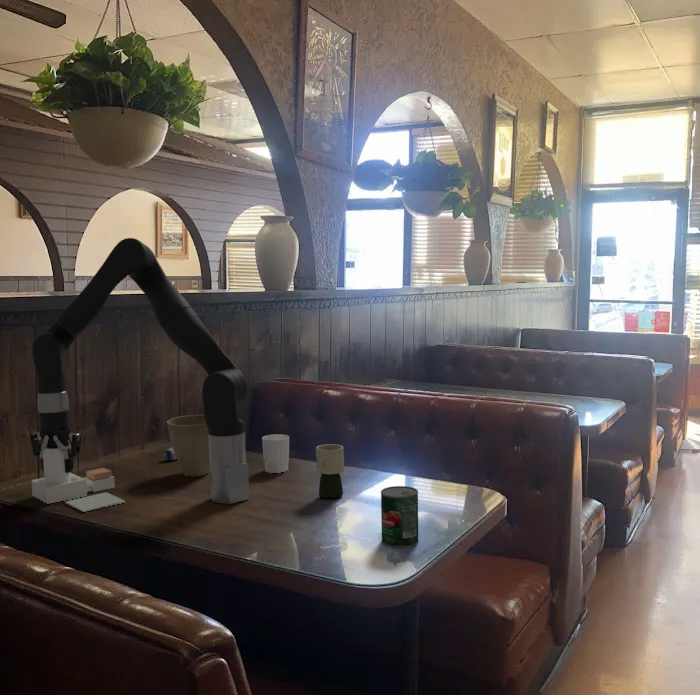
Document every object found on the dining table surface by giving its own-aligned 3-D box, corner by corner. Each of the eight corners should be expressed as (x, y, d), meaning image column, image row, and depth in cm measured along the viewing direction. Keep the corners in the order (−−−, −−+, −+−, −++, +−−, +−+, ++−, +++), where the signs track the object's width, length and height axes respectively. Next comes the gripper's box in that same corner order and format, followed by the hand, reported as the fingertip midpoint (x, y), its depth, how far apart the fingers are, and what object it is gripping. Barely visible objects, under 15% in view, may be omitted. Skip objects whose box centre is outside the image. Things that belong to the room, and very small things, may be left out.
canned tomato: (374, 544, 159) (373, 493, 158) (392, 532, 166) (391, 484, 165) (408, 550, 155) (407, 498, 154) (425, 538, 162) (424, 488, 160)
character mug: (329, 489, 200) (328, 441, 198) (353, 492, 196) (352, 443, 195) (308, 501, 190) (306, 450, 189) (332, 504, 187) (331, 453, 186)
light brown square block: (112, 487, 207) (111, 470, 206) (94, 490, 203) (93, 474, 203) (104, 483, 210) (103, 467, 210) (87, 487, 207) (86, 471, 206)
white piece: (118, 489, 205) (117, 473, 205) (47, 505, 192) (46, 487, 192) (102, 481, 213) (101, 466, 212) (32, 496, 200) (31, 480, 199)
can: (74, 491, 198) (71, 446, 197) (48, 495, 194) (45, 450, 193) (68, 485, 203) (65, 442, 202) (43, 490, 200) (40, 445, 199)
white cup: (275, 475, 215) (274, 441, 214) (257, 471, 220) (256, 437, 219) (295, 470, 220) (294, 436, 219) (277, 465, 226) (276, 433, 225)
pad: (125, 503, 192) (125, 500, 192) (83, 513, 185) (83, 510, 185) (106, 494, 200) (106, 492, 200) (65, 503, 193) (65, 501, 193)
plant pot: (161, 473, 221) (158, 419, 219) (207, 464, 229) (205, 412, 228) (182, 483, 209) (179, 427, 207) (230, 474, 217) (228, 419, 216)
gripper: (86, 406, 199) (90, 469, 200) (38, 406, 202) (42, 467, 204) (69, 411, 191) (74, 476, 193) (20, 411, 195) (24, 474, 196)
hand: (57, 471), depth 198 cm, fingers closed on can, 6 cm apart
